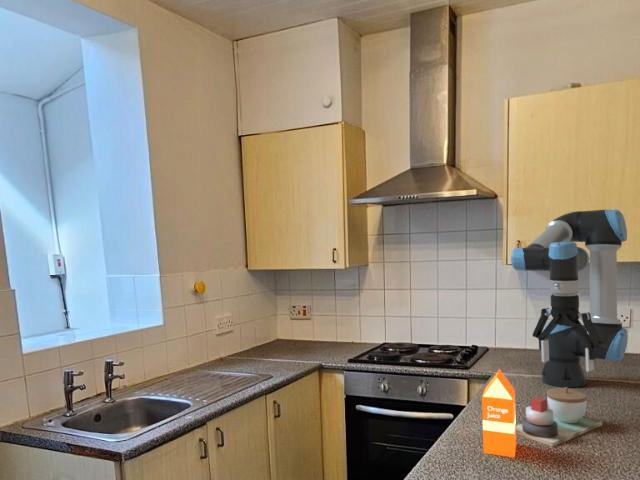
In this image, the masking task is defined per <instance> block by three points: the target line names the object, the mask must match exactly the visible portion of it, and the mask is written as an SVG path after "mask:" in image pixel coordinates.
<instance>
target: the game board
mask: <svg viewBox="0 0 640 480" xmlns="http://www.w3.org/2000/svg"><path fill="white" fill-rule="evenodd" d="M521 421H522V422H521V423H520V424H519V423H518V424H517V425H516V435H519V436H522V437H524V438H527V439H530V440H533V441H535V442H538V443H541V444H544V445H545V446H549V447H552V448H554V447H555V446H558V445H560V444H563V443H564V442H568V441H569V440H572V439H574V438H576V437H579V436H580V435H581V436H582V435H584V434H586V433H588V432H590V431H592V430H596V429H597V428H598V427H602V426H603V421H601V420H599V419H596V418H592V417H589V416H586V415H584V416H583V417H582V418H581V419H580V420H579V421H578V422H577V423H565V422H561V421H558V420H557V419H556V417H555V416H554V415H553V424H551V425H536V424H532V423H530V422H528V421H527V420H526V417H524V418H522V420H521Z"/></svg>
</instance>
